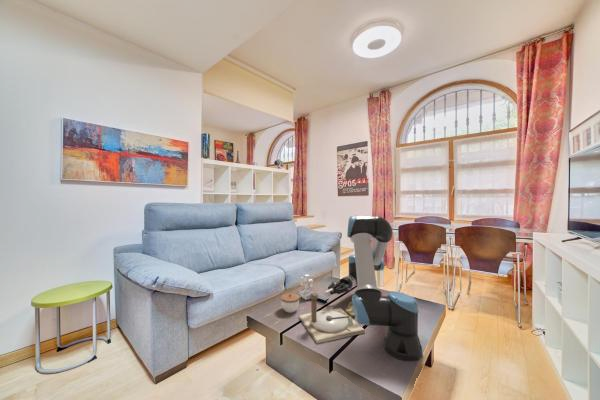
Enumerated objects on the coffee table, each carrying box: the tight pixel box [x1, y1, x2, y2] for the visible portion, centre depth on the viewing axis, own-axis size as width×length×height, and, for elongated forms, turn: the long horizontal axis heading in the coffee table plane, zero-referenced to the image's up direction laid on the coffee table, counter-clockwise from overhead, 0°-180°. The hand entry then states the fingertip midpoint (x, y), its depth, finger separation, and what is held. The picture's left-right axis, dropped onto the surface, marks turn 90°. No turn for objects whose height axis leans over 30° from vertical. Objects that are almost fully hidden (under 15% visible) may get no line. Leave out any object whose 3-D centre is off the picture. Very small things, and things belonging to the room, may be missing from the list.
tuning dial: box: [309, 292, 350, 332], centre depth 122 cm, size 21×19×15 cm
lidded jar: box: [280, 292, 300, 314], centre depth 138 cm, size 11×11×9 cm
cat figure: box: [345, 301, 355, 319], centre depth 136 cm, size 10×9×25 cm
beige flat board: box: [298, 307, 366, 344], centre depth 122 cm, size 24×25×2 cm
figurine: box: [299, 273, 315, 301], centre depth 154 cm, size 7×9×15 cm
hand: (325, 294), depth 132 cm, fingers closed
